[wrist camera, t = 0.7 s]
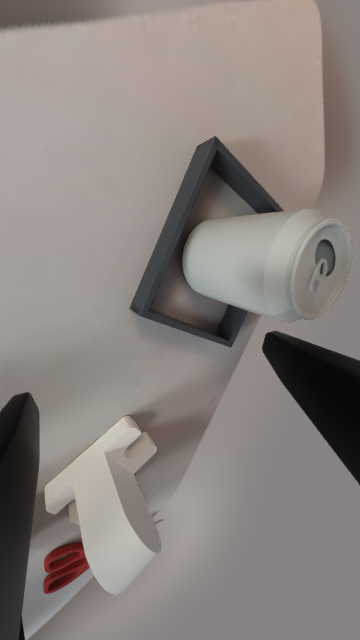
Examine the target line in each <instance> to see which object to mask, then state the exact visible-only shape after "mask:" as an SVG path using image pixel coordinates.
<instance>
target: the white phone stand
mask: <svg viewBox="0 0 360 640" xmlns="http://www.w3.org/2000/svg"><path fill="white" fill-rule="evenodd" d="M156 451H157V447H156V446H155V444H154V442H153V441H152V439H151V437H150V436H149V434H148V433H147V432H145V431H144V432H143V433H142V432H141V431H140V429H139V427H138V425H137V423H136V422H135V421H134V420H133V419H132V418H131V417H130V416H124V417H123V418H122V419H120V420H119V421H118V422H117V423H116V424H115V425H114V426H112V427H111V428H110V429H109V430H108V431H107V432H106V433H105V434H103V435H102V436H101V437H100V438H99V439H98V440H97V441H95V442H94V443H93V444H92V445H91V446H90V447H89V448H88V449H86V450H85V451H84V452H83V453H82V454H81V455H80V456H78V457H77V458H76V459H75V460H74V461H73V462H72V463H71V464H69V465H68V466H67V467H66V468H65V469H64V470H63V471H61V472H60V473H59V474H58V475H57V476H56V477H55V478H54V479H52V480H51V481H50V482H49V483H48V484H47V485H46V486H45V506H46V511H47V512H49V513H52V514H54V515H56V514H57V513H58V512H59V511H60V510H61V509H63V508H64V507H65V506H66V505H67V504H68V509H69V517H70V522H72V523H75V524H77V525H80V530H81V536H82V542H83V547H84V552H85V556H86V559H87V561H88V564H89V567H90V569H91V571H92V572H93V574H94V576H95V578H96V579H97V581H98V582H99V583H100V585H101V586H102V587H103V588H104V589H105V590H106V591H107V592H108V593H110V594H112V595H114V596H120V595H121V594H122V593H123V592H124V591H125V590H126V589H127V588H128V587H129V586H130V585H131V584H132V582H133V581H134V580H135V579H136V578H137V577H138V576H139V574H140V573H141V572H142V571H143V570H144V569H145V568H146V567H147V566H148V565H149V563H150V562H151V561H152V560H153V559H154V558H155V557H156V555H157V554H158V553H159V552H160V550H161V541H160V537H159V533H158V531H157V528H156V525H155V523H154V521H153V518H152V516H151V514H150V511H149V509H148V507H147V504H146V502H145V500H144V497H143V495H142V493H141V490H140V488H139V486H138V483H137V481H136V479H135V476H134V474H135V473H136V472H137V471H138V470H139V469H140V468H141V467H142V466H143V465H144V464H145V463H146V462H147V461H148V460H149V459H150V458H151V457H152V456H153V455H154V454H155V453H156Z"/></svg>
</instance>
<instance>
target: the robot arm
mask: <svg viewBox="0 0 360 640" xmlns="http://www.w3.org/2000/svg"><path fill="white" fill-rule="evenodd" d="M262 350H263V353H264V354H265V356H266V358H267V359H268V361H269V363H270V364H271V366H272V367H273V369H274V371H275V372H276V374H277V376H278V377H279V379H280V380H281V382H282V383H283V385H284V386H285V387H286V389H287V390H288V391H289V393H290V394H291V395H292V396H293V398H294V399H295V400H296V402H297V403H298V404H299V406H300V407H301V408H302V410H303V411H304V412H305V414H306V415H307V416H308V418H309V419H310V420H311V421H312V423H313V424H314V425H315V426H316V428H317V429H318V431H319V432H320V433H321V434H322V436H323V437H324V439H325V440H326V441H327V442H328V444H329V445H330V446H331V448H332V449H333V450H334V452H335V453H336V454H337V456H338V457H339V458H340V459H341V461H342V462H343V464H344V465H345V466H346V467H347V469H348V470H349V471H350V473H351V474H352V475H353V476H354V478H355V479H356V480H357V482H358V483H359V485H360V361H359V360H356V359H354V358H351V357H348V356H345V355H342V354H339V353H337V352H334V351H331V350H328V349H326V348H323V347H320V346H317V345H314V344H312V343H309V342H306V341H303V340H301V339H298V338H295V337H292V336H289V335H287V334H284V333H281V332H278V331H272V332H268V333H267V334H266V335H265V339H264V343H263V346H262ZM39 456H40V447H39V410H38V407H37V405H36V403H35V401H34V399H33V397H32V395H31V394H30V393H29V392H26V393H22V394H18V395H15V396H13V397H12V398H11V399H10V400H9V402H8V403H7V404H6V405H5V406H4V408H3V409H2V410H1V411H0V640H25V637H24V630H23V623H22V606H23V598H24V590H25V581H26V573H27V564H28V556H29V547H30V539H31V531H32V522H33V514H34V505H35V497H36V489H37V480H38V472H39Z"/></svg>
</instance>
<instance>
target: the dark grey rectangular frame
mask: <svg viewBox="0 0 360 640" xmlns="http://www.w3.org/2000/svg"><path fill="white" fill-rule="evenodd" d="M209 167H211V168H212V169H213V170H214V171H215V172H216V173H217V174H218V175H219V176H220V177H221V178H222V179H223V180H224V181H225V182H226V183H227V184H228V185H229V186H230V187H231V188H232V189H233V190H234V191H235V192H236V193H238V194H239V195H240V196H241V197H242V198H243V199H244V200H245V201H246V202H247V203H248V204H249V205H250V206H251V207H252V208H253V209H254V210H255V211H256V212H257V213H258V214H263V213H272V212H281V211H284V210H283V209H282V208H281V207H280V206H279V205H278V204H277V203H276V202H275V201H274V200H273V198H272V197H271V196H270V195H269V194H268V193H267V192H266V191H265V190H264V189H263V188H262V186H261V185H260V184H259V183H258V182H257V181H256V180H255V179H254V178H253V177H252V175H251V174H250V173H249V172H248V171H247V170H246V169H245V168H244V167H243V166H242V165H241V163H240V162H239V161H238V160H237V159H236V158H235V157H234V156H233V155H232V154H231V153H230V151H229V150H228V149H227V148H226V147H225V146H224V145H223V144H222V143H221V142H220V140H219V139H218V138H217V137H216V136H215V137H213V138H211V139H209V140H207V141H206V142H204V143H202V144H200V145H198V146H197V148H196V151H195V153H194V155H193V158H192V160H191V162H190V165H189V167H188V170H187V172H186V174H185V177H184V179H183V182H182V184H181V186H180V189H179V191H178V194H177V196H176V198H175V201H174V203H173V206H172V208H171V210H170V213H169V215H168V218H167V220H166V222H165V225H164V227H163V230H162V232H161V234H160V237H159V239H158V241H157V244H156V246H155V249H154V251H153V253H152V256H151V258H150V261H149V263H148V265H147V268H146V270H145V273H144V275H143V277H142V280H141V282H140V285H139V287H138V289H137V292H136V294H135V297H134V299H133V301H132V304H131V306H130V309H131V310H132V311H134V312H135V313H137V314H138V315H139V316H142V317H144V318H147V319H150V320H153V321H156V322H159V323H162V324H165V325H168V326H171V327H173V328H176V329H179V330H182V331H185V332H188V333H191V334H194V335H197V336H199V337H202V338H205V339H208V340H211V341H214V342H217V343H220V344H223V345H225V346H228V347H232V345H233V343H234V340H235V338H236V336H237V334H238V332H239V329H240V327H241V325H242V323H243V321H244V319H245V316H246V314H247V312H248V311H247V310H244V309H241V308H238V307H235V306H232V305H230V304H229V306H228V308H227V311H226V313H225V315H224V317H223V319H222V322H221V324H220V326H219V328H218V331H217V333H216V334H215V333H212V332H209V331H207V330H204V329H201V328H199V327H196V326H193V325H191V324H188V323H185V322H183V321H180V320H177V319H175V318H172V317H169V316H167V315H164V314H161V313H159V312H156V311H153V310H151V309H149V308H150V306H151V304H152V301H153V299H154V297H155V294H156V292H157V289H158V287H159V285H160V282H161V280H162V278H163V275H164V273H165V271H166V268H167V266H168V264H169V261H170V259H171V256H172V254H173V252H174V249H175V247H176V245H177V242H178V240H179V238H180V235H181V233H182V231H183V228H184V226H185V223H186V221H187V219H188V216H189V214H190V212H191V209H192V207H193V205H194V202H195V200H196V198H197V195H198V193H199V190H200V188H201V186H202V183H203V181H204V179H205V176H206V174H207V172H208V169H209Z"/></svg>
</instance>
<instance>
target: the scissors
mask: <svg viewBox="0 0 360 640" xmlns="http://www.w3.org/2000/svg"><path fill="white" fill-rule="evenodd" d="M161 521H163V519H162V520H159V521H157V522H155V524H157V523H159V522H161ZM73 552H74V553H73ZM69 553H72V554H71V555H69V556H67V557H65V558H63V559H61V560H58V561H56V562H52V561H54V560H55V559H57V558H59V557H62V556H64V555H66V554H69ZM51 562H52V563H51ZM89 568H90V567H89V564H88V561H87V559H86V556H85V552H84V547H83V542H78V543H72V544H69V545H66V546H63V547H61V548H58V549H56V550H54V551H53V552H51V553H50V554H49V555H47V557H46V558H45V561H44V570H45V572H47V573H50V574H49V575H48V576H47V577H46V578H45V580H44V584H43V588H44V593H46V594H49V593H53V592H55V591H57V590H59V589H61V588H63V587H64V586H66V585H68V584H69V583H71V582H72V581H73V580H75V579H76V578H77V577H79V576H80V575H81V574H82V573H84V572H85V571H86V570H87V569H89ZM51 572H52V573H51ZM69 573H70V574H69ZM67 574H68V575H67ZM64 575H67V576H65V577H63V578H62V579H60V580H58V581H56V582H53V581H55V580H56V579H58V578H60V577H62V576H64ZM52 582H53V583H52Z"/></svg>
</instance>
